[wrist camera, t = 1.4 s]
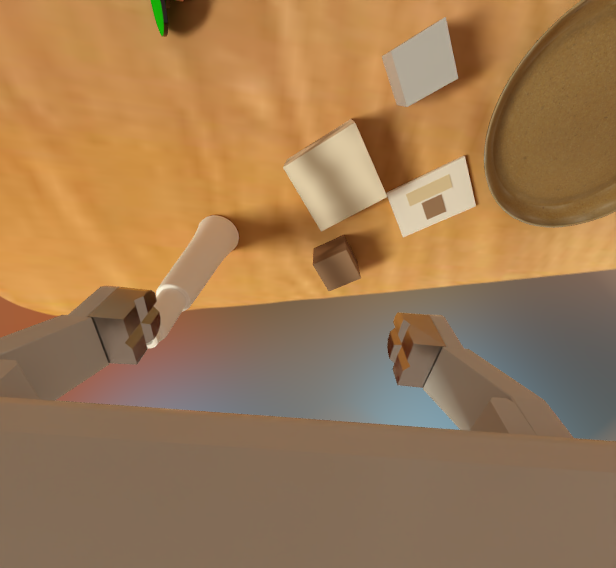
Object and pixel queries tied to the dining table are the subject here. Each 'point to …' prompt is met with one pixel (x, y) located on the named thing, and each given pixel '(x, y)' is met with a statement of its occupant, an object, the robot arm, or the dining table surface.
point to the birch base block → (335, 176)
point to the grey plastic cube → (421, 64)
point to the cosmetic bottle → (193, 270)
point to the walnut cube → (336, 263)
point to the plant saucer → (559, 124)
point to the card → (432, 197)
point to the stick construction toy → (161, 14)
